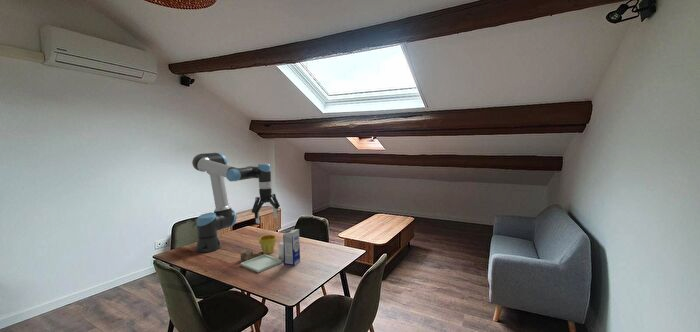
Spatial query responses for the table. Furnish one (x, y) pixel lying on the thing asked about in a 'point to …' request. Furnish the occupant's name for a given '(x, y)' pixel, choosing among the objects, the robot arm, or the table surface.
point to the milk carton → (291, 247)
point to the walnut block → (246, 255)
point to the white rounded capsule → (281, 251)
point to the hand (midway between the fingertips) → (266, 220)
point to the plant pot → (267, 243)
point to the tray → (261, 263)
